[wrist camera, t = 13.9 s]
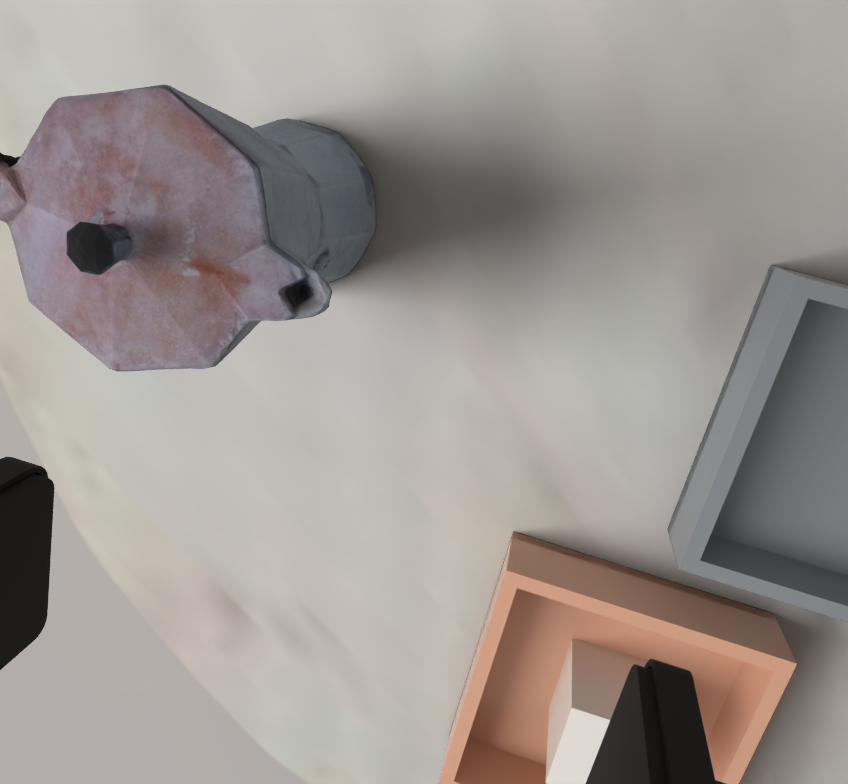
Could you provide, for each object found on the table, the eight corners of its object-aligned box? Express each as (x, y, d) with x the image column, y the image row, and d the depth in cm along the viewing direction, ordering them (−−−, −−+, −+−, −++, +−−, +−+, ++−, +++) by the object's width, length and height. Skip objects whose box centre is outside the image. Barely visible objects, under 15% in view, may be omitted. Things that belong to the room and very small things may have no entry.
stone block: (572, 638, 43) (571, 707, 37) (657, 664, 42) (670, 739, 36) (549, 706, 44) (545, 783, 39) (631, 732, 44) (639, 814, 38)
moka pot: (407, 330, 40) (261, 459, 22) (154, 259, 42) (-186, 320, 23) (449, 153, 38) (321, 124, 19) (174, 85, 39) (-196, -5, 20)
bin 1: (513, 531, 42) (506, 570, 38) (774, 613, 41) (797, 663, 36) (449, 732, 47) (437, 787, 43) (681, 814, 45) (692, 879, 41)
